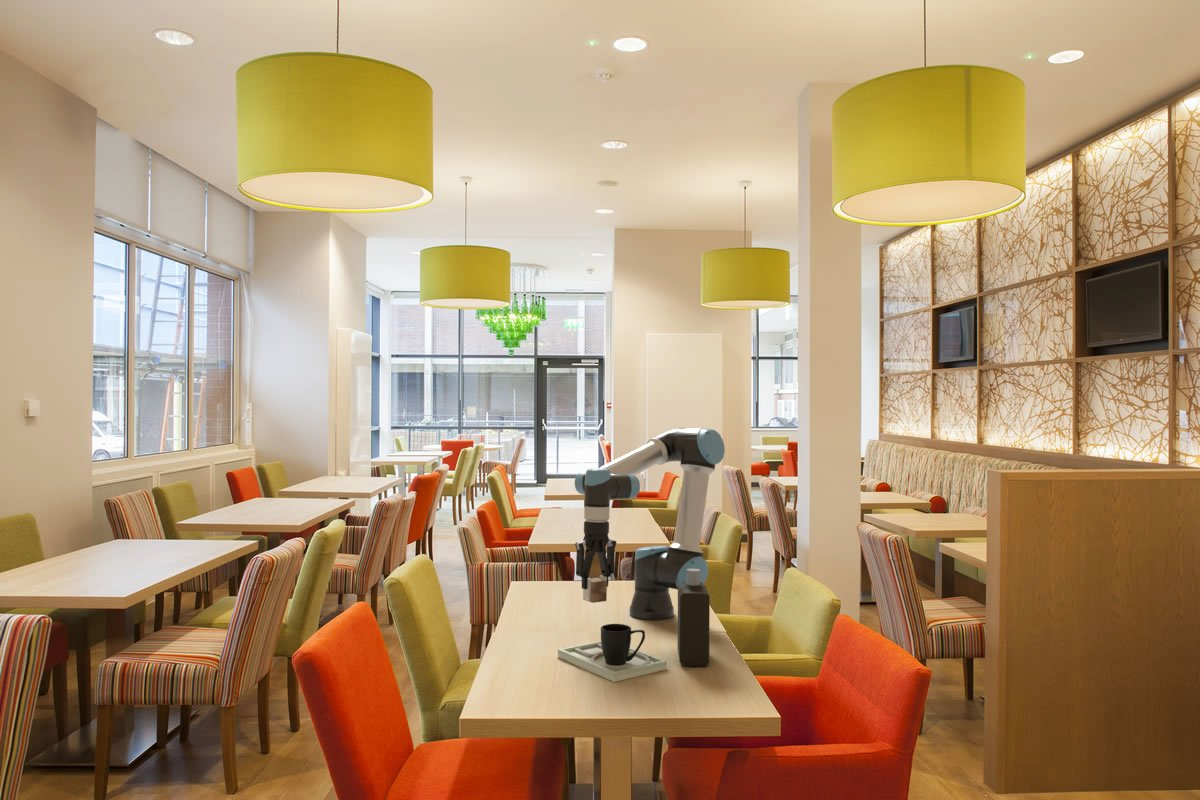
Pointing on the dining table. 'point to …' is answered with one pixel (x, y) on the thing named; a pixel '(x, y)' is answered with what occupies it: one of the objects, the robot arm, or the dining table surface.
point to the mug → (618, 643)
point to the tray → (595, 662)
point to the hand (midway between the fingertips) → (594, 598)
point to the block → (598, 590)
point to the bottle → (693, 621)
